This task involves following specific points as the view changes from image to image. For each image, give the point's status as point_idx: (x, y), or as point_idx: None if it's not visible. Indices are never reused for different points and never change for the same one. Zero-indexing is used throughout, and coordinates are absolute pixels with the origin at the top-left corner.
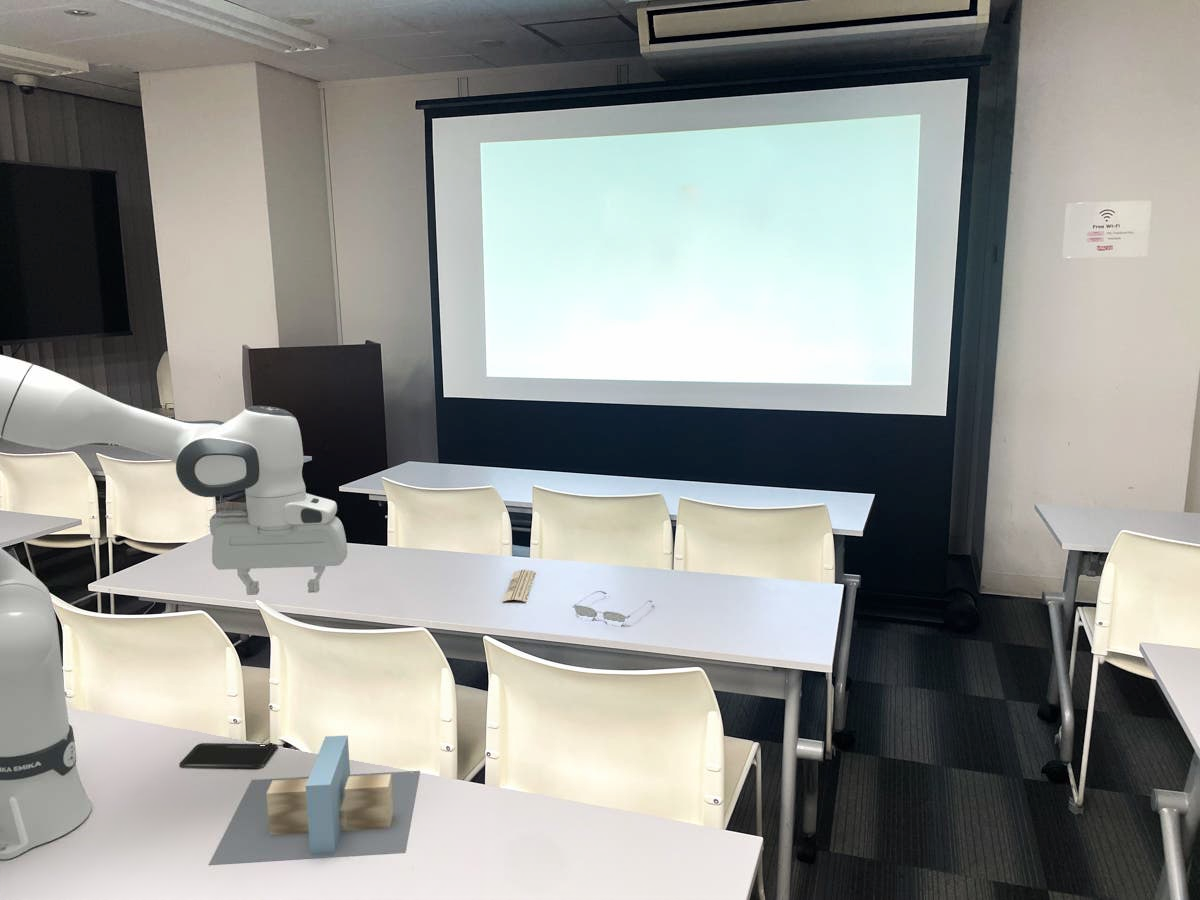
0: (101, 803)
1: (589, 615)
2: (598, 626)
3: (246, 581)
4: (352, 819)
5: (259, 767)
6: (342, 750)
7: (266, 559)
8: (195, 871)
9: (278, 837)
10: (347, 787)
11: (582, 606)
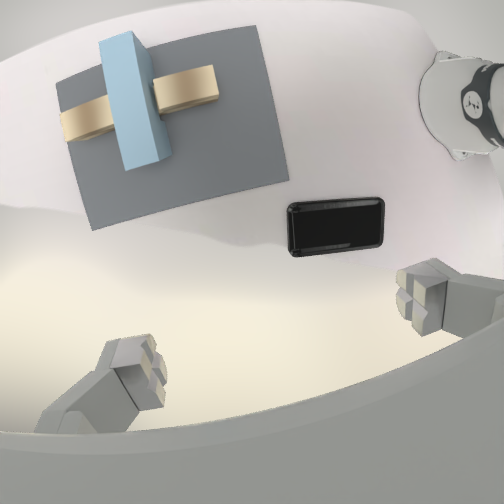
0: (421, 132)
1: None
2: None
3: (471, 281)
4: None
5: (291, 205)
6: (115, 127)
7: (461, 406)
8: (266, 20)
9: None
10: (107, 98)
11: None
